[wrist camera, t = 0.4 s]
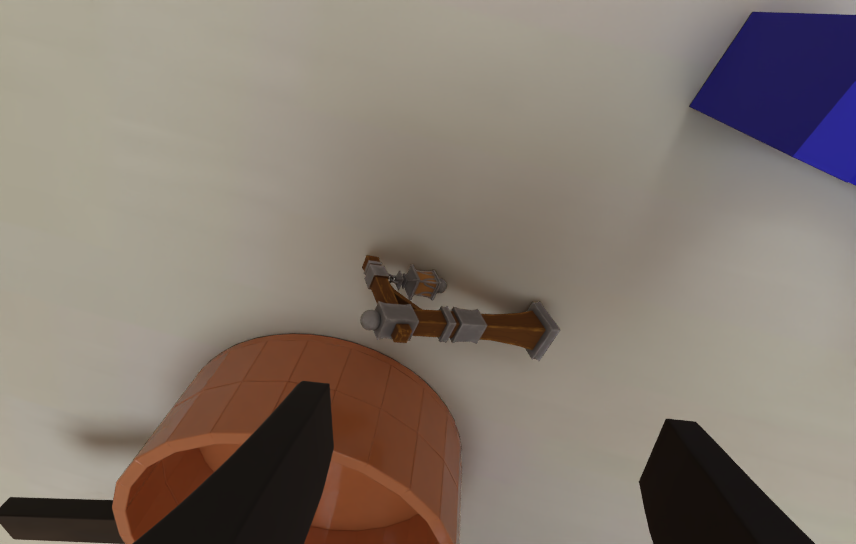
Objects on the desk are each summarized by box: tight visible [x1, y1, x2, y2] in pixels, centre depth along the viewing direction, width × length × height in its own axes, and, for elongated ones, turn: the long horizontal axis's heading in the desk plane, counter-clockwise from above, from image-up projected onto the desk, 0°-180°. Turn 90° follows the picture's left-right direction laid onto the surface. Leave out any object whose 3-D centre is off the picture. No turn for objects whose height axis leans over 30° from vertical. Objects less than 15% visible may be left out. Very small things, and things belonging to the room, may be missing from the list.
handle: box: [0, 497, 125, 544], centre depth 23 cm, size 2×7×1 cm, turn 96°
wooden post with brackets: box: [360, 255, 560, 361], centre depth 19 cm, size 2×8×4 cm, turn 68°
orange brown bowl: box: [112, 334, 462, 544], centre depth 23 cm, size 15×15×6 cm
